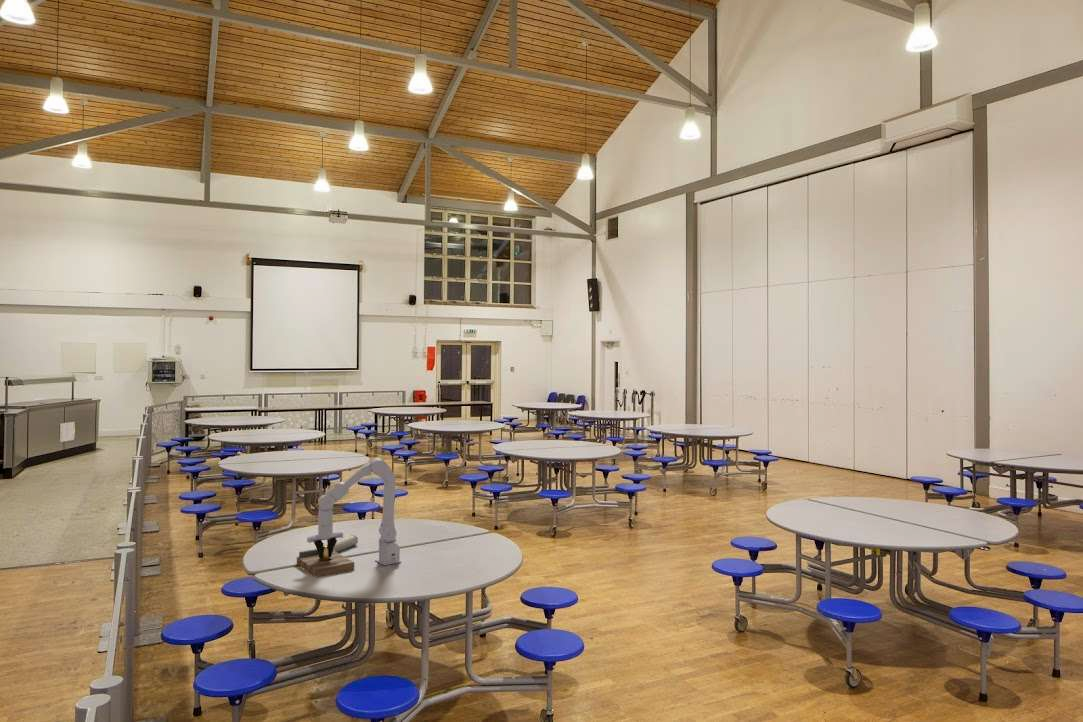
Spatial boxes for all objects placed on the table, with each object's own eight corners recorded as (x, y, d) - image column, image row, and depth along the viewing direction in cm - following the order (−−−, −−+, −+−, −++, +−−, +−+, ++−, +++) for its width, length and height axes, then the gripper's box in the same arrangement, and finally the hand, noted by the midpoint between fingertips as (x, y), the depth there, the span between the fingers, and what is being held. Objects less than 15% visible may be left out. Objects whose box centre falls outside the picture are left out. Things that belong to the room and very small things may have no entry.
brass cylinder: (330, 563, 275) (330, 546, 276) (322, 564, 274) (322, 547, 274) (327, 561, 278) (327, 544, 278) (319, 562, 276) (319, 545, 276)
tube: (324, 551, 286) (359, 537, 310) (314, 546, 288) (350, 532, 311) (320, 562, 287) (356, 547, 310) (311, 557, 288) (347, 543, 312)
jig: (354, 569, 272) (354, 557, 272) (315, 577, 262) (315, 564, 262) (334, 557, 289) (334, 546, 289) (296, 564, 279) (296, 552, 279)
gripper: (338, 520, 284) (338, 552, 283) (304, 525, 275) (304, 558, 274) (345, 523, 278) (345, 556, 278) (310, 528, 269) (310, 562, 269)
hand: (325, 557), depth 276 cm, fingers closed on brass cylinder, 3 cm apart
